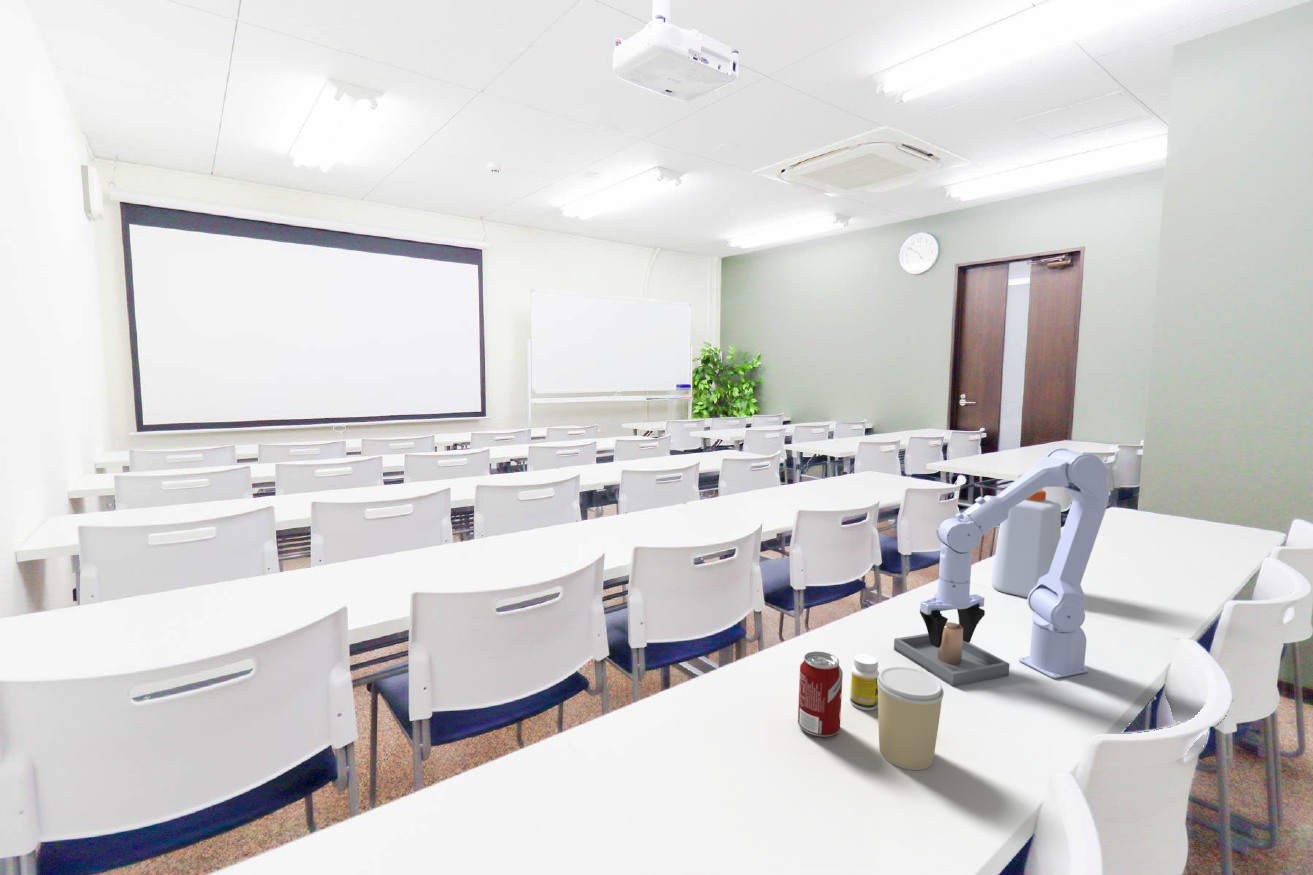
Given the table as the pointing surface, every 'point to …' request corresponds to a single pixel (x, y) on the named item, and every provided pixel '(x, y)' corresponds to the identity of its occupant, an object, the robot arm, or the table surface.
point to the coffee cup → (908, 716)
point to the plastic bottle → (1026, 544)
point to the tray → (969, 670)
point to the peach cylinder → (951, 644)
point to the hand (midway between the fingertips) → (950, 643)
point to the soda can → (820, 694)
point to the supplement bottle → (864, 682)
